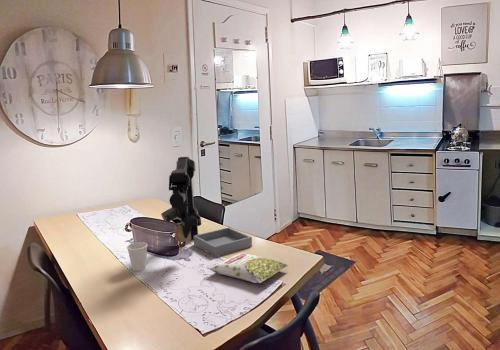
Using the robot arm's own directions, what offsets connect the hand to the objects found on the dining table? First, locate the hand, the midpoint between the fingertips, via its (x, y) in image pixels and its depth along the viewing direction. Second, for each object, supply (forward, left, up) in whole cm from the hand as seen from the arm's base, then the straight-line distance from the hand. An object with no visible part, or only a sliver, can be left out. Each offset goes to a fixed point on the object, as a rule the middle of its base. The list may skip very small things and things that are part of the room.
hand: (183, 236), depth 179 cm
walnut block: (0, 0, -2) cm, 2 cm away
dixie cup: (-5, -19, -11) cm, 22 cm away
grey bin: (-5, +22, -11) cm, 25 cm away
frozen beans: (+29, +13, -11) cm, 34 cm away
